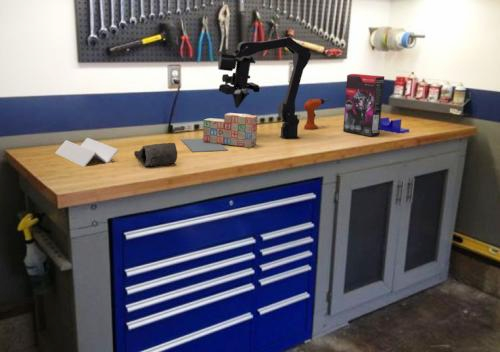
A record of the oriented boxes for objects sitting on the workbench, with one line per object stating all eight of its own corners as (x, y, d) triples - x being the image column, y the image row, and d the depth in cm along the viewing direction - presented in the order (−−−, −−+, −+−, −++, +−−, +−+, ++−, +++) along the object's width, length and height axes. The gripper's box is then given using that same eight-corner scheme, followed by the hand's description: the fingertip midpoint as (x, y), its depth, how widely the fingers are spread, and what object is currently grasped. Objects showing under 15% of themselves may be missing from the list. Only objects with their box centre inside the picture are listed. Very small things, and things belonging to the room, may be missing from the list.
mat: (213, 138, 223) (213, 138, 223) (228, 150, 201) (228, 149, 201) (180, 140, 219) (180, 139, 219) (192, 152, 197) (192, 151, 197)
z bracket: (96, 177, 176) (83, 166, 172) (67, 163, 194) (54, 153, 190) (118, 149, 179) (106, 138, 176) (87, 138, 198) (75, 127, 194)
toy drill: (333, 123, 261) (333, 93, 256) (309, 132, 249) (308, 101, 244) (325, 122, 264) (325, 93, 259) (301, 130, 252) (300, 100, 247)
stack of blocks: (202, 142, 214) (203, 112, 210) (208, 139, 219) (209, 110, 216) (251, 147, 207) (252, 117, 204) (256, 144, 213) (257, 115, 210)
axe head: (187, 140, 176) (143, 146, 170) (190, 162, 177) (147, 169, 171) (167, 137, 200) (128, 142, 194) (169, 156, 201) (131, 162, 195)
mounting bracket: (408, 132, 250) (410, 120, 248) (400, 134, 245) (401, 122, 244) (377, 127, 263) (378, 115, 261) (369, 128, 258) (370, 116, 257)
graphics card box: (341, 131, 247) (345, 73, 240) (350, 130, 251) (355, 73, 244) (371, 137, 234) (376, 76, 227) (380, 135, 239) (385, 76, 232)
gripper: (246, 66, 229) (240, 100, 235) (213, 67, 217) (208, 103, 223) (263, 73, 222) (257, 107, 228) (229, 75, 209) (224, 111, 216)
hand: (236, 107), depth 224 cm, fingers closed
